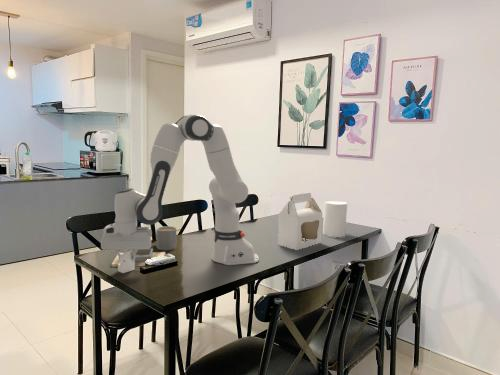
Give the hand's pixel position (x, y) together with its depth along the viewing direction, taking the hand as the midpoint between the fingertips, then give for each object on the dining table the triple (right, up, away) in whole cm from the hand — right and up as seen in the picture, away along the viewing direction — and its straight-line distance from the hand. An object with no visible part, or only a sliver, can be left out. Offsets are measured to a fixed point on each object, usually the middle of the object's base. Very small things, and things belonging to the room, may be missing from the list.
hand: (127, 259), depth 160 cm
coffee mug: (+8, -1, +36) cm, 37 cm away
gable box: (+80, -1, +48) cm, 93 cm away
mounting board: (+1, -3, +14) cm, 14 cm away
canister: (+104, +1, +71) cm, 126 cm away
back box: (+1, -2, +14) cm, 14 cm away
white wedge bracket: (0, -5, +1) cm, 5 cm away
